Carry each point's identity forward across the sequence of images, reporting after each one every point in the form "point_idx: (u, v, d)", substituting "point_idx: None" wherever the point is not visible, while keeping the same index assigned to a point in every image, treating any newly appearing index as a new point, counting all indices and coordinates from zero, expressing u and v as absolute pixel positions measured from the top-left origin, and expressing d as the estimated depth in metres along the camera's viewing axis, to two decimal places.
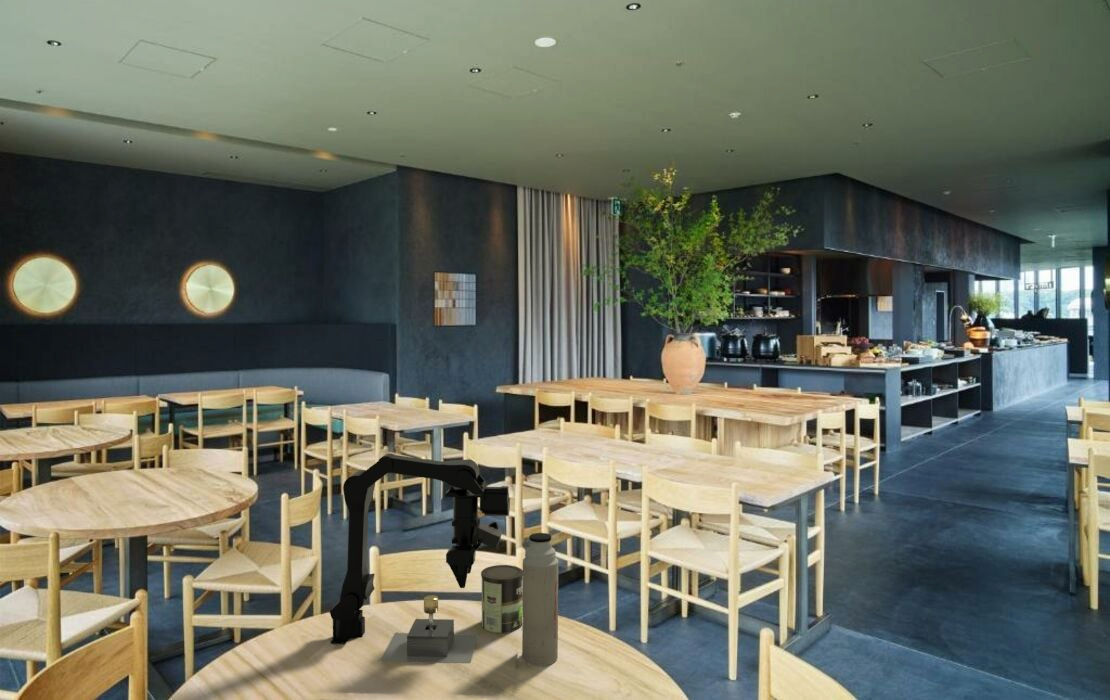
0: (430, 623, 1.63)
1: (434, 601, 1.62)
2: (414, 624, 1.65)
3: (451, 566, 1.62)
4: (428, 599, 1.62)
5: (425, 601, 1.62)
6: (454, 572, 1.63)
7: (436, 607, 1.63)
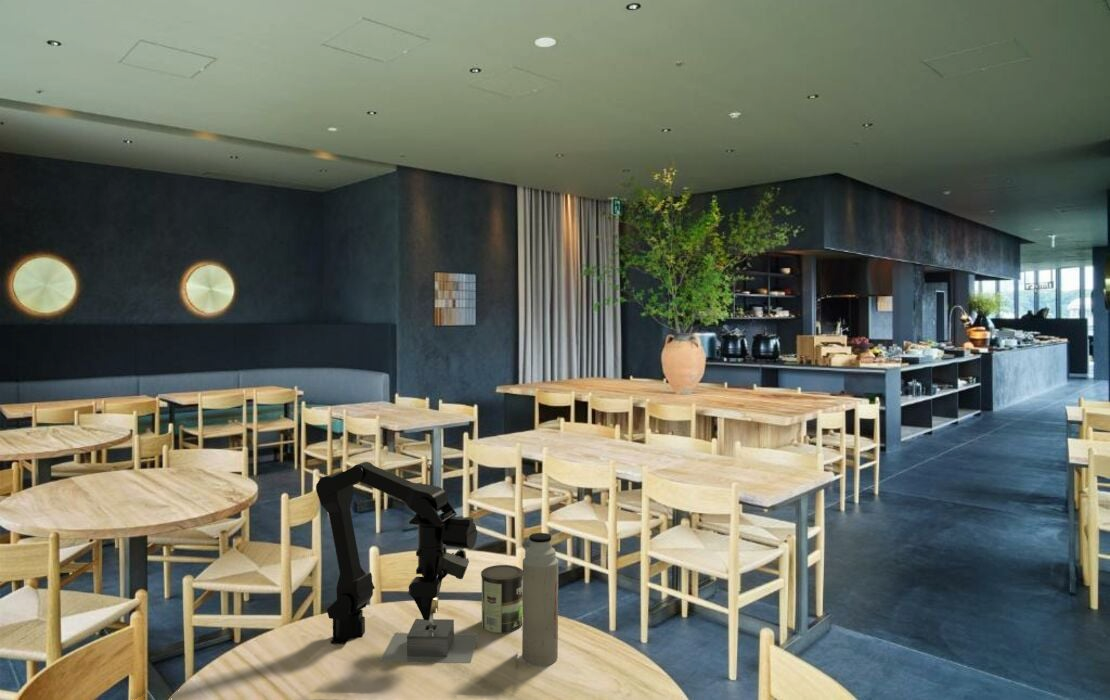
0: (430, 623, 1.63)
1: (434, 601, 1.62)
2: (414, 624, 1.65)
3: (414, 598, 1.57)
4: None
5: None
6: (418, 604, 1.57)
7: (436, 607, 1.63)
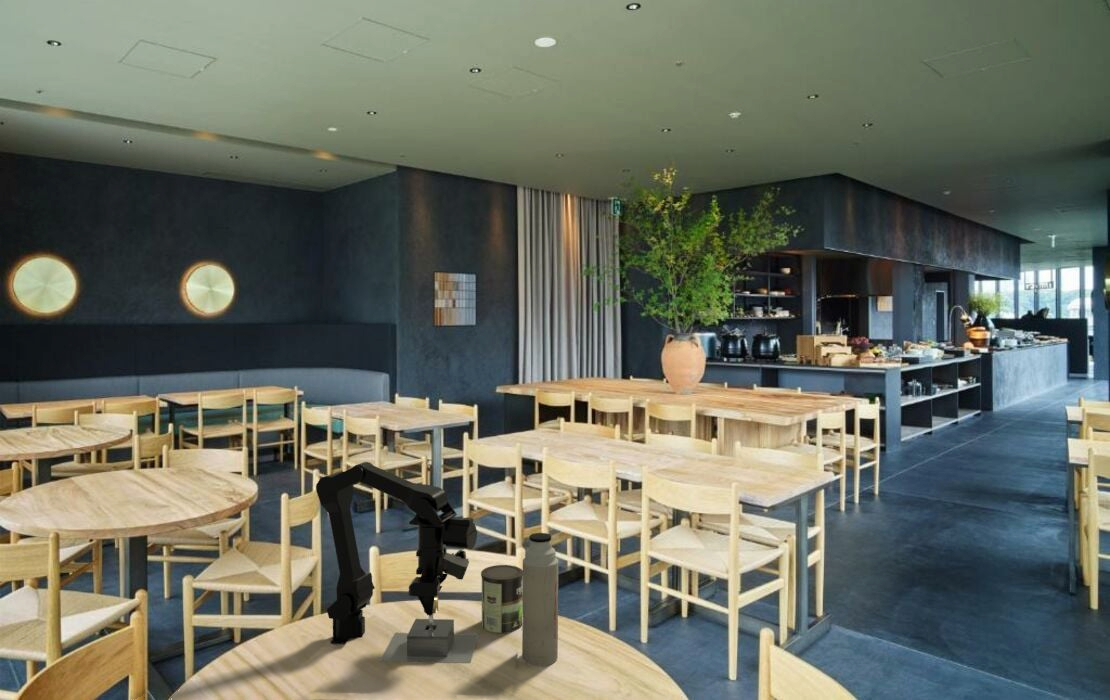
0: (430, 623, 1.63)
1: (434, 601, 1.62)
2: (414, 624, 1.65)
3: None
4: None
5: None
6: (420, 599, 1.60)
7: (436, 607, 1.63)
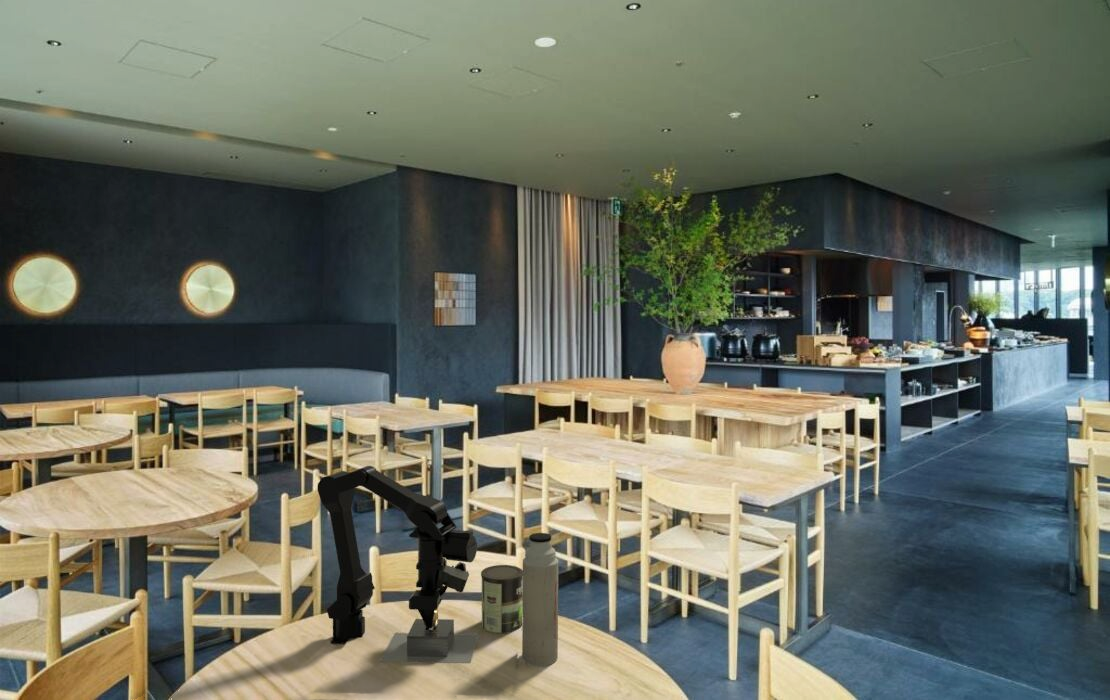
0: None
1: (434, 614, 1.62)
2: (414, 624, 1.65)
3: None
4: None
5: None
6: (420, 612, 1.60)
7: (436, 620, 1.63)
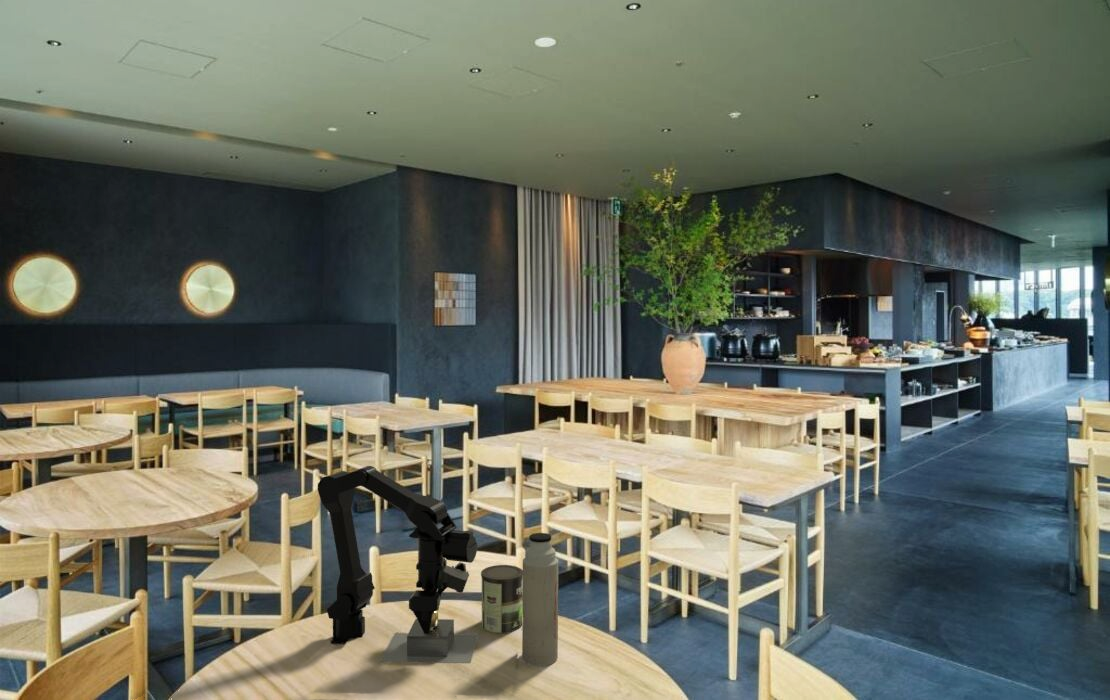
0: None
1: (434, 614, 1.62)
2: (414, 624, 1.65)
3: (415, 612, 1.57)
4: None
5: None
6: (418, 618, 1.57)
7: (436, 620, 1.63)
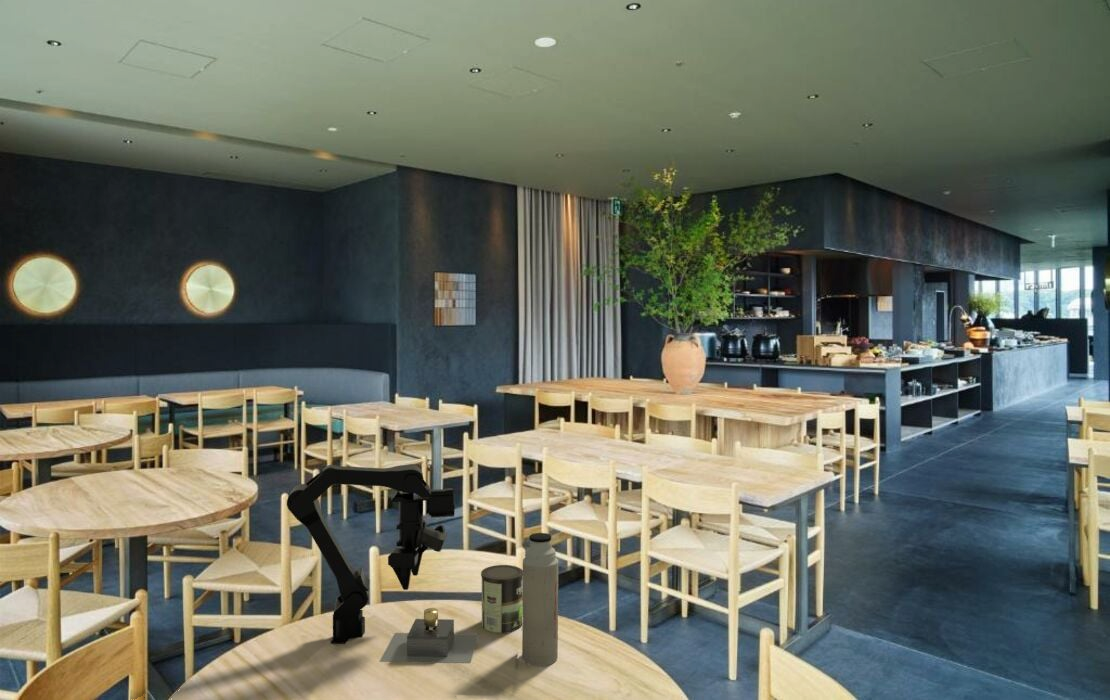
0: None
1: (434, 614, 1.62)
2: (414, 624, 1.65)
3: (394, 568, 1.66)
4: (428, 612, 1.62)
5: (425, 614, 1.62)
6: (397, 574, 1.67)
7: (436, 620, 1.63)
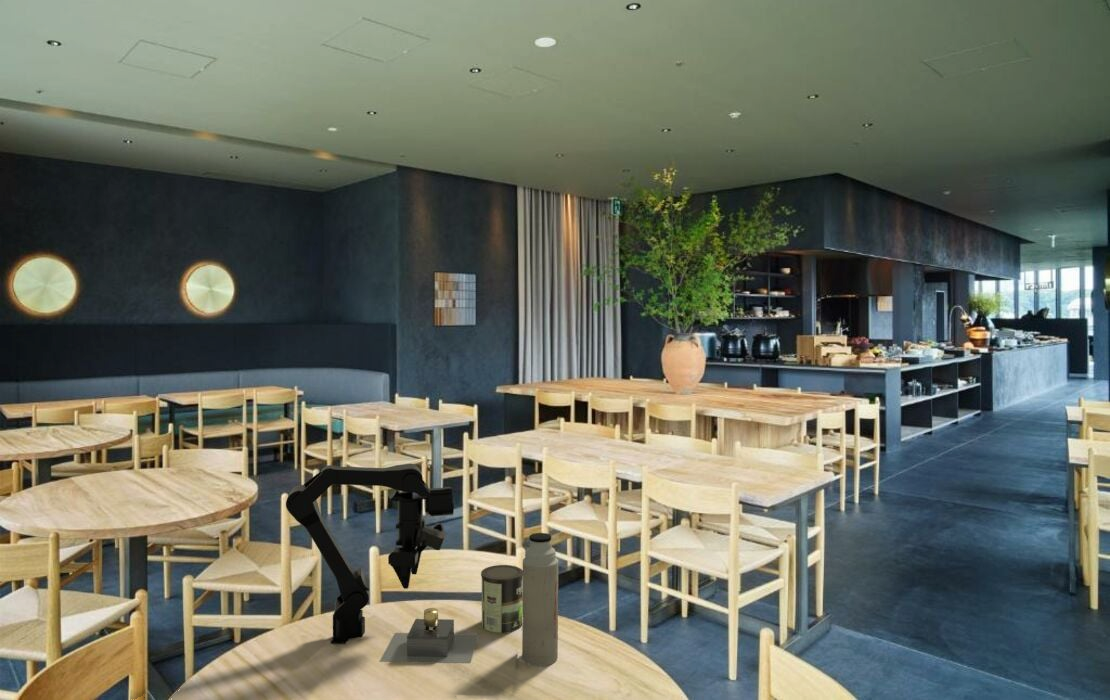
0: None
1: (434, 614, 1.62)
2: (414, 624, 1.65)
3: (394, 567, 1.66)
4: (428, 612, 1.62)
5: (425, 614, 1.62)
6: (397, 573, 1.67)
7: (436, 620, 1.63)
